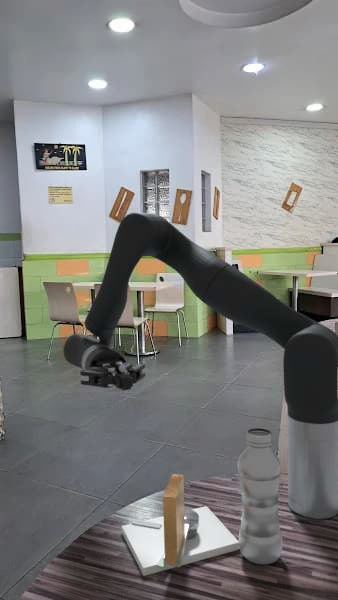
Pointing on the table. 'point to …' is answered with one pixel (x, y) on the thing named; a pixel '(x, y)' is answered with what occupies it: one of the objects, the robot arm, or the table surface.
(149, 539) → the base plate
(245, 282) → the robot arm
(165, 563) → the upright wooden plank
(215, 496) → the table surface
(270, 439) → the plastic bottle
